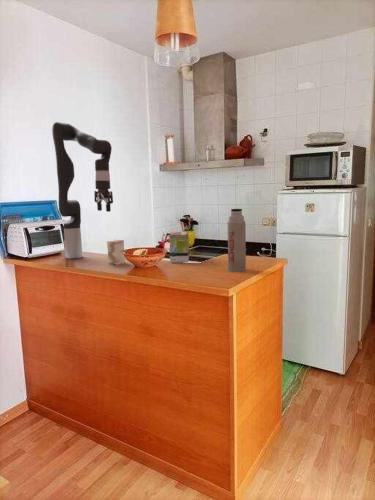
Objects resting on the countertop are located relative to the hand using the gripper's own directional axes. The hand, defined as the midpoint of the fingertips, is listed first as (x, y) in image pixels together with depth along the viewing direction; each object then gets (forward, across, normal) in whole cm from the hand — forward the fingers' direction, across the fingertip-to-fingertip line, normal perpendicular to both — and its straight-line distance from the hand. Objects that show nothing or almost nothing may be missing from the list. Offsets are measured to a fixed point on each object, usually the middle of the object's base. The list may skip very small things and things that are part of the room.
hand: (104, 211), depth 196 cm
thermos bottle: (+25, +68, +27) cm, 77 cm away
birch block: (+27, +9, +1) cm, 28 cm away
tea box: (+26, +29, +28) cm, 48 cm away
